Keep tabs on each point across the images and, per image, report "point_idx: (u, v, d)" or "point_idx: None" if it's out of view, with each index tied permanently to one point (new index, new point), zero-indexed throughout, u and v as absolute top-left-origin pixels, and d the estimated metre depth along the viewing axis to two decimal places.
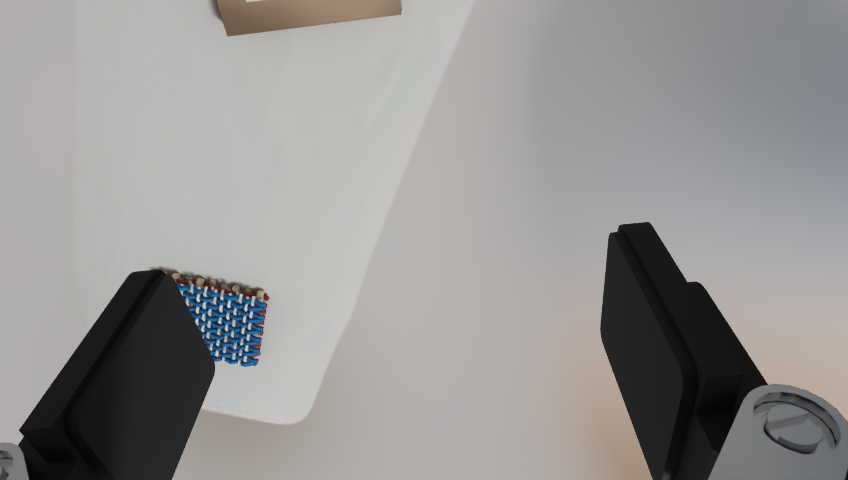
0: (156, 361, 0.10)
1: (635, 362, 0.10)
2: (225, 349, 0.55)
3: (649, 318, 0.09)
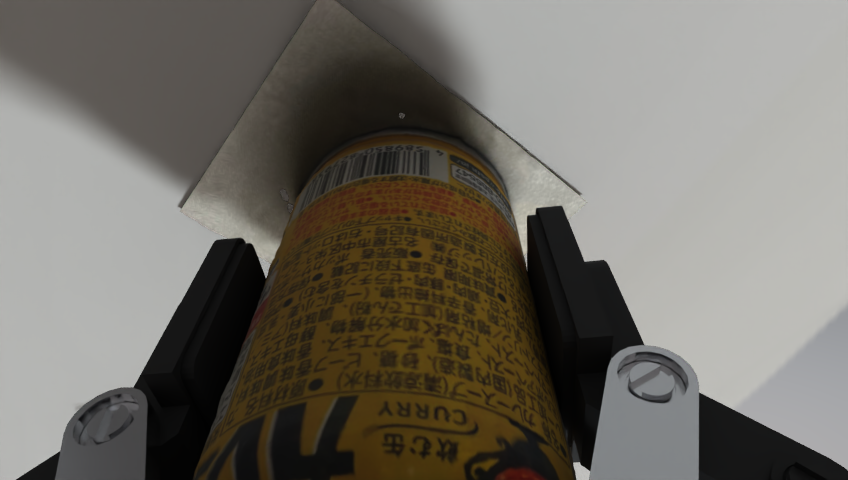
0: (243, 321, 0.11)
1: (543, 333, 0.11)
2: None
3: (547, 290, 0.10)
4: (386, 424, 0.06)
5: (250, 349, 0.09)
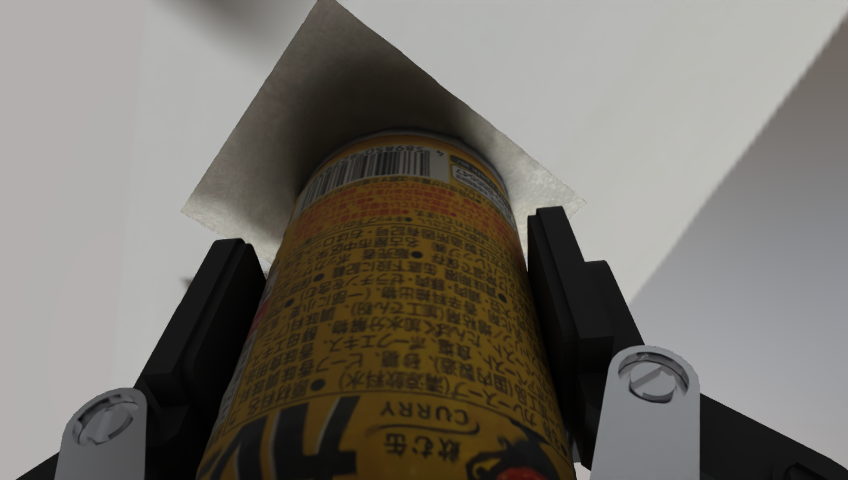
0: (243, 321, 0.11)
1: (544, 333, 0.11)
2: None
3: (548, 290, 0.10)
4: (387, 424, 0.07)
5: (252, 349, 0.09)
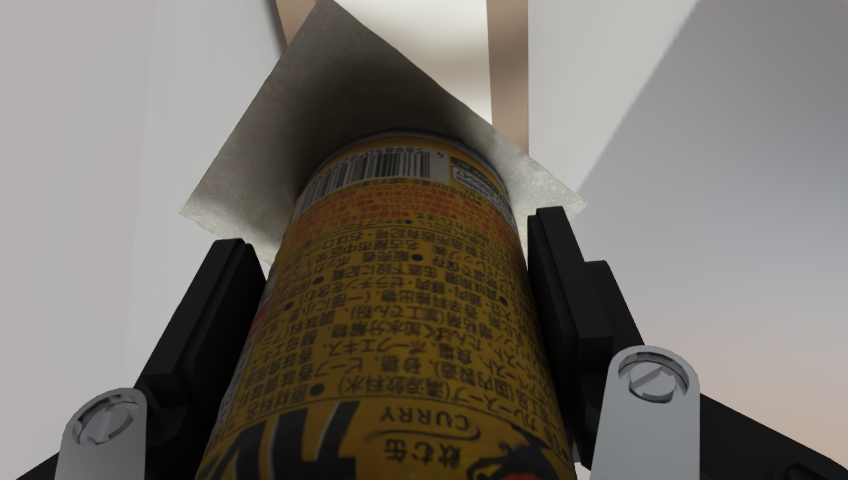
0: (243, 321, 0.11)
1: (544, 333, 0.11)
2: None
3: (548, 290, 0.10)
4: (387, 429, 0.06)
5: (251, 353, 0.09)
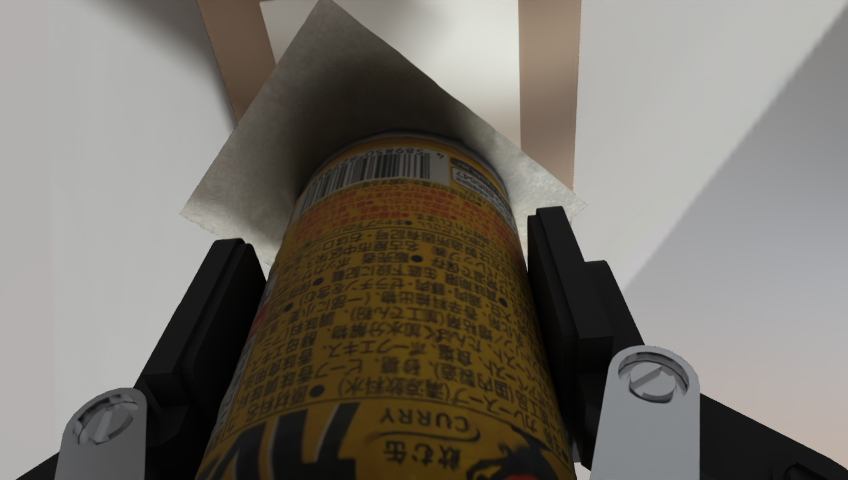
0: (243, 321, 0.11)
1: (544, 333, 0.11)
2: None
3: (548, 290, 0.10)
4: (387, 431, 0.06)
5: (251, 354, 0.09)
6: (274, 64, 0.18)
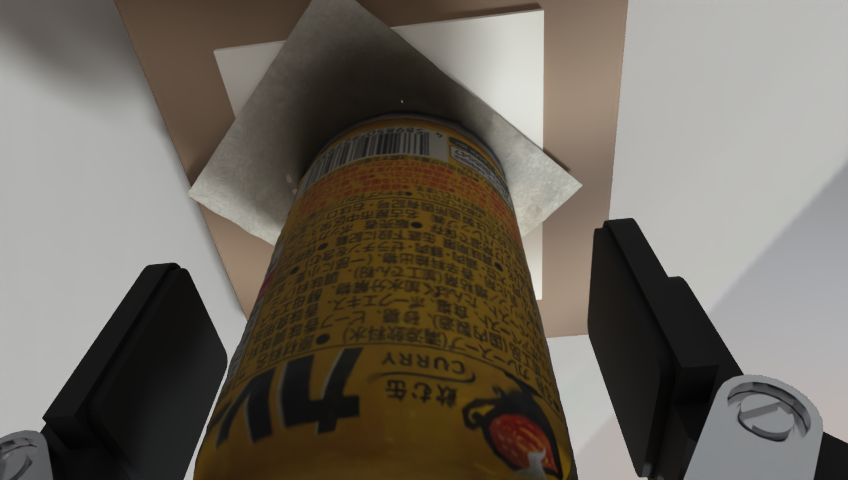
0: (172, 352, 0.11)
1: (618, 355, 0.10)
2: None
3: (630, 311, 0.09)
4: (388, 371, 0.07)
5: (259, 314, 0.09)
6: None
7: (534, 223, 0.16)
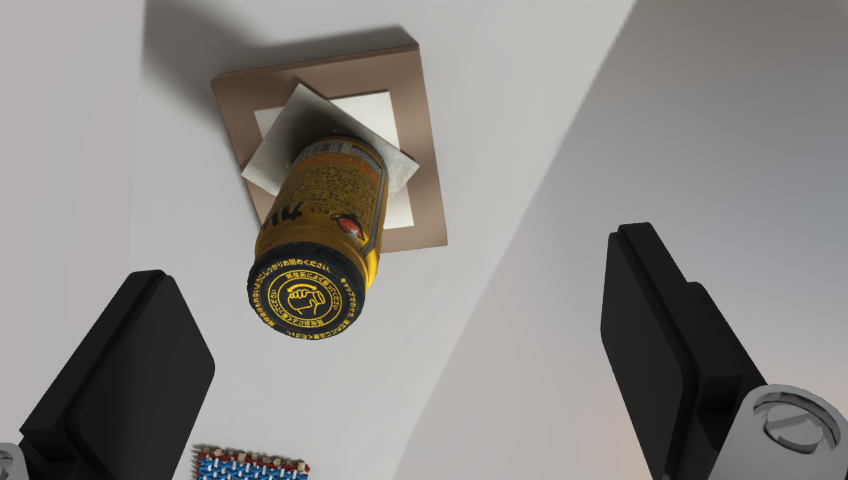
0: (156, 360, 0.10)
1: (635, 362, 0.10)
2: None
3: (649, 318, 0.09)
4: (310, 206, 0.25)
5: (274, 203, 0.27)
6: None
7: (401, 185, 0.34)
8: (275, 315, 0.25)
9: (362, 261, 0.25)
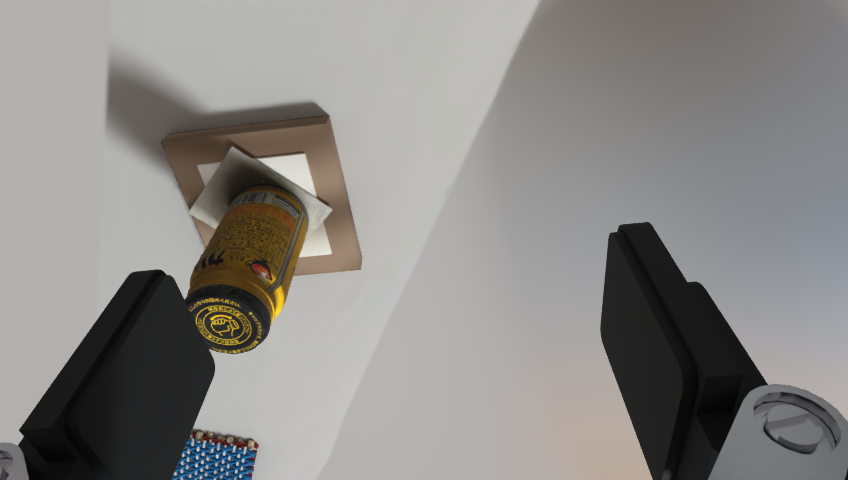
0: (155, 361, 0.10)
1: (635, 362, 0.10)
2: None
3: (649, 318, 0.09)
4: (230, 254, 0.33)
5: (207, 246, 0.35)
6: None
7: (318, 223, 0.42)
8: (202, 336, 0.33)
9: (268, 297, 0.33)
